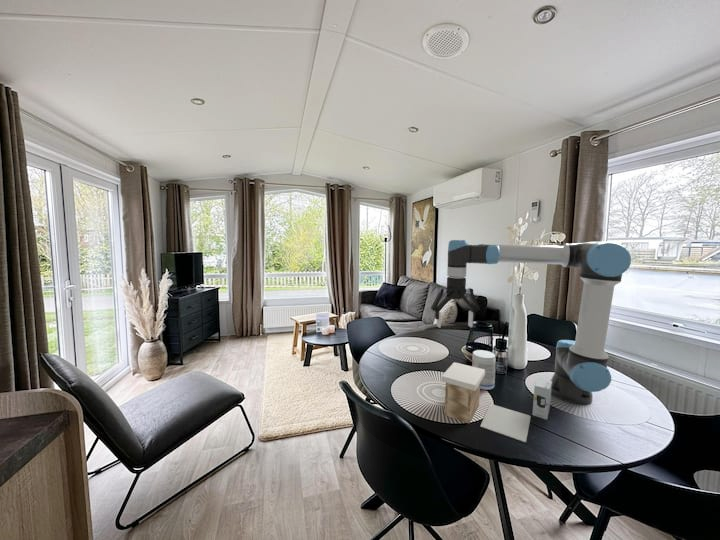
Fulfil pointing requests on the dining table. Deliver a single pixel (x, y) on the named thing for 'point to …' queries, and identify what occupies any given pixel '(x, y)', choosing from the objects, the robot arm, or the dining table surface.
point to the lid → (463, 376)
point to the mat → (506, 422)
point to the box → (461, 402)
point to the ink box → (542, 398)
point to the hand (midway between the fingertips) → (454, 326)
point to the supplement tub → (485, 367)
